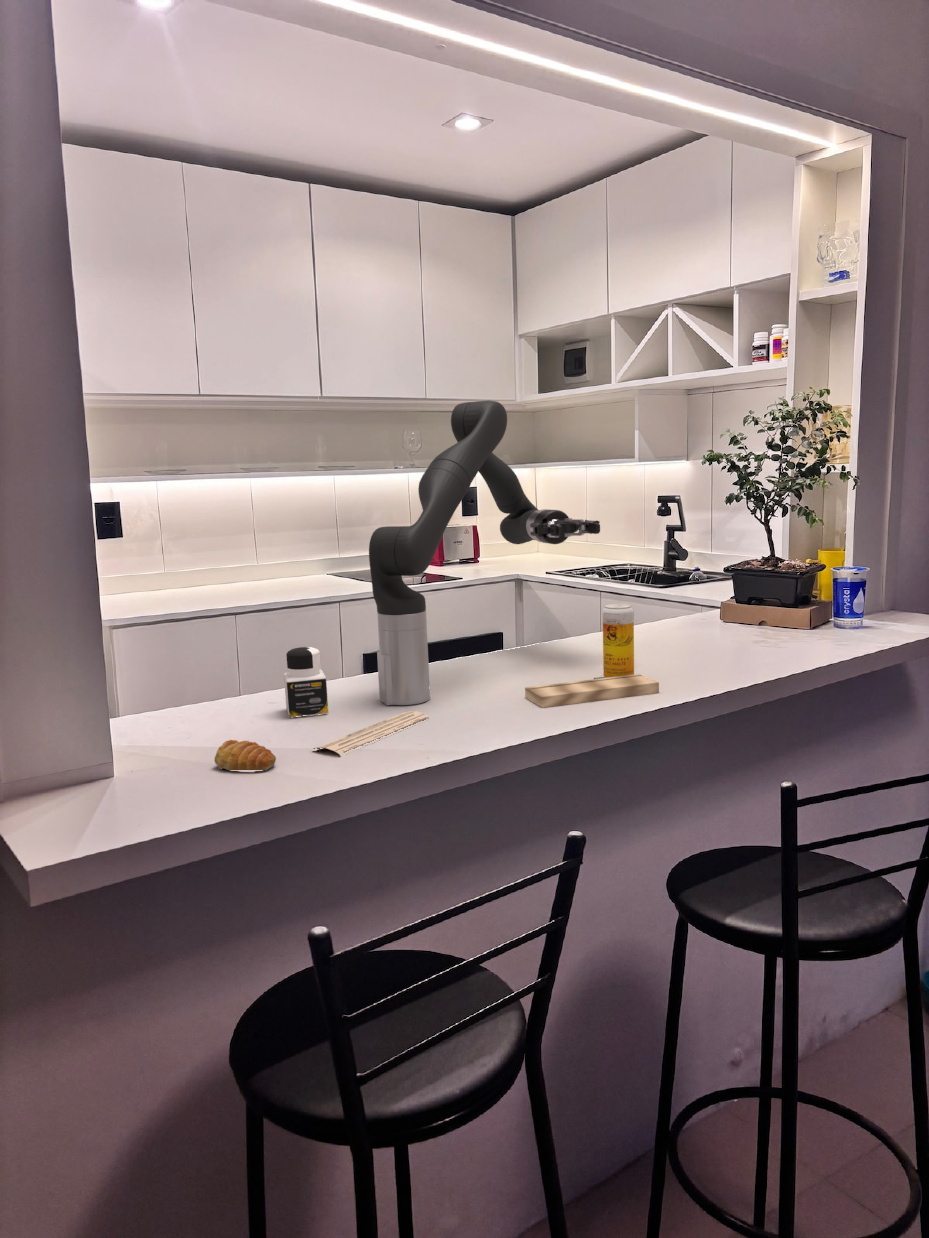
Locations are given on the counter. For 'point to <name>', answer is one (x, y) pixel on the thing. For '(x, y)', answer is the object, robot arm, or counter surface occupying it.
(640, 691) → the board
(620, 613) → the beer can
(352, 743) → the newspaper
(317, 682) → the medicine bottle
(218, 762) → the pastry
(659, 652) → the counter surface
